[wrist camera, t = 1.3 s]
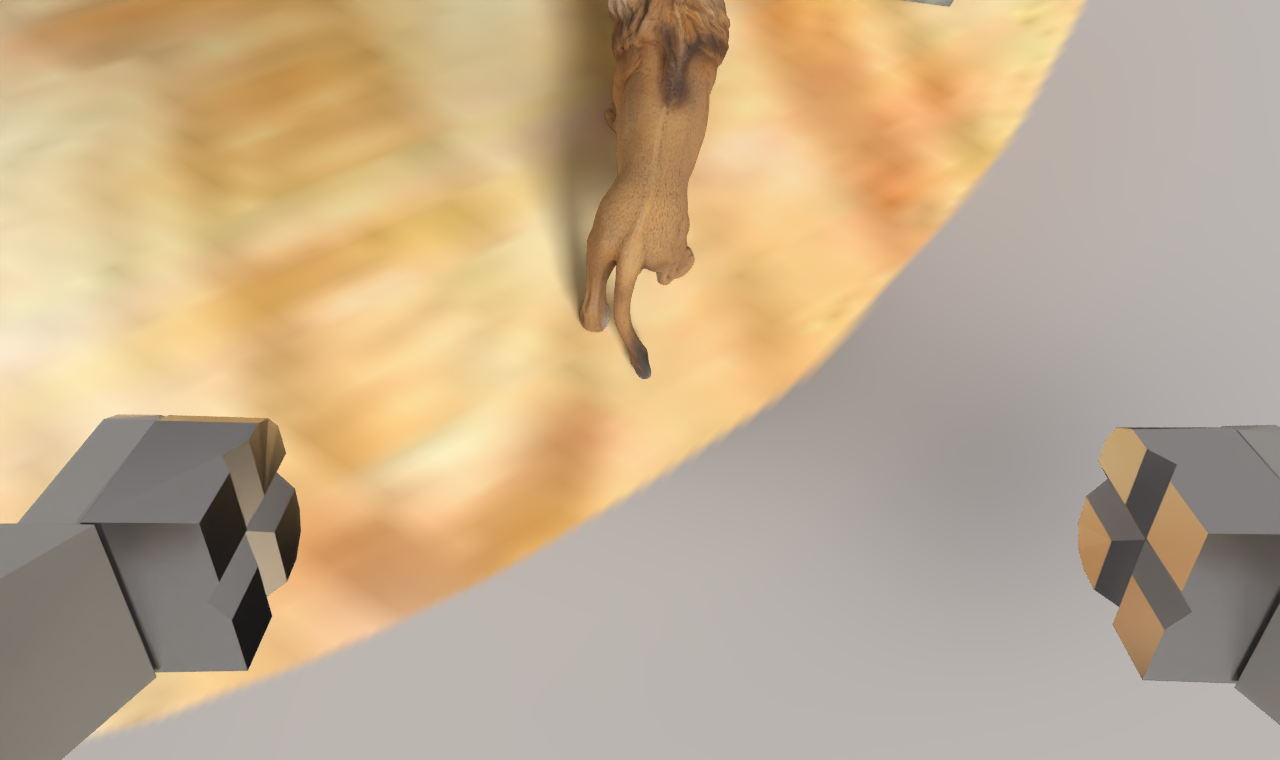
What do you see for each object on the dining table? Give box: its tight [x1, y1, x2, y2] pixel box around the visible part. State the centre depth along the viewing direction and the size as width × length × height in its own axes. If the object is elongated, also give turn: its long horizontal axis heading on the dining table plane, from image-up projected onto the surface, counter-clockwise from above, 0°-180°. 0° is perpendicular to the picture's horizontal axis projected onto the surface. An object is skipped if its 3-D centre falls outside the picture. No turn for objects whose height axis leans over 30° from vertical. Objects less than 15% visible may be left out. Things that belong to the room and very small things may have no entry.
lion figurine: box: [580, 0, 730, 379], centre depth 32 cm, size 15×5×9 cm, turn 1°
